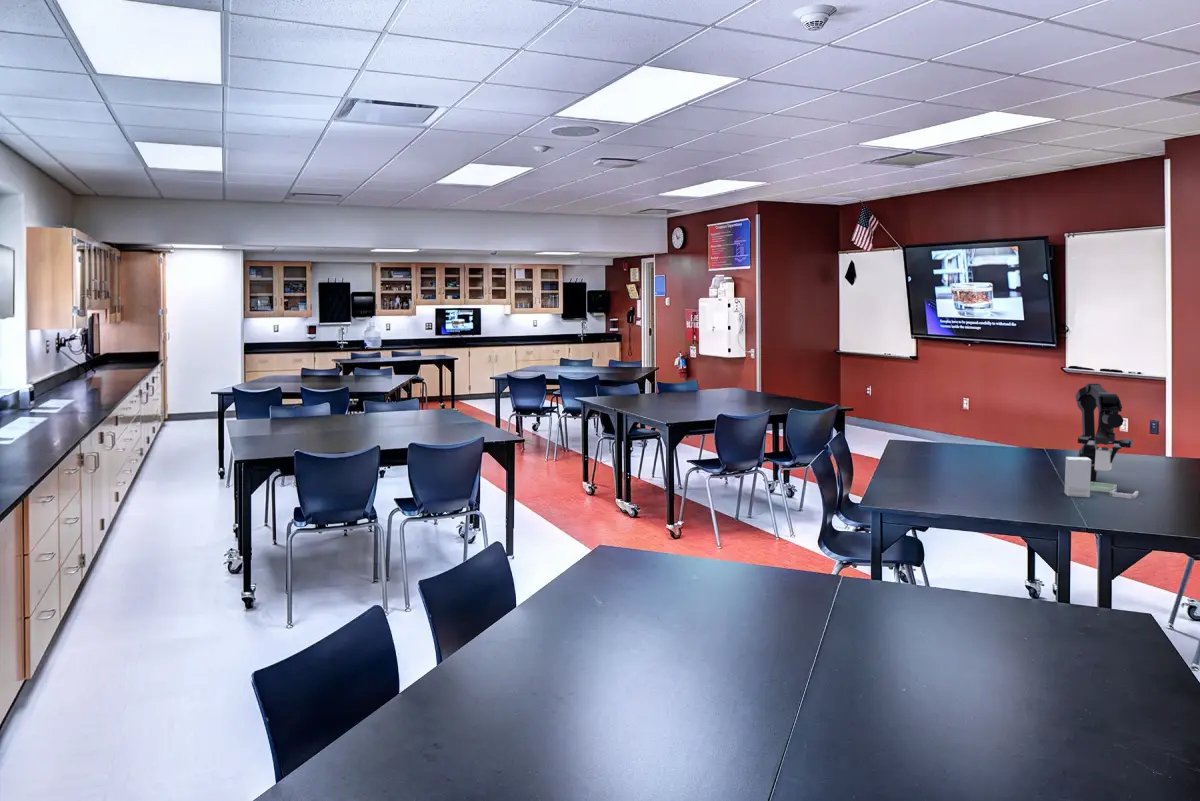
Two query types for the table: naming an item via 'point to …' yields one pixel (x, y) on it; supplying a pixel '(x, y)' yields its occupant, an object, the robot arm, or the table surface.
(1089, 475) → the skincare box
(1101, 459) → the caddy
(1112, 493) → the dock
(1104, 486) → the tray
